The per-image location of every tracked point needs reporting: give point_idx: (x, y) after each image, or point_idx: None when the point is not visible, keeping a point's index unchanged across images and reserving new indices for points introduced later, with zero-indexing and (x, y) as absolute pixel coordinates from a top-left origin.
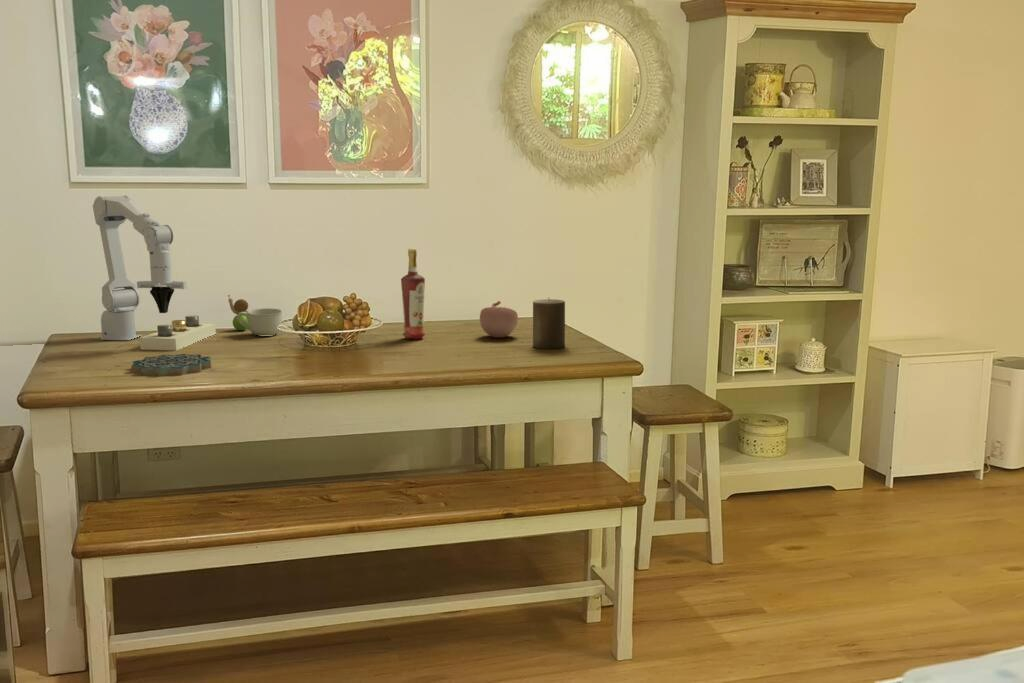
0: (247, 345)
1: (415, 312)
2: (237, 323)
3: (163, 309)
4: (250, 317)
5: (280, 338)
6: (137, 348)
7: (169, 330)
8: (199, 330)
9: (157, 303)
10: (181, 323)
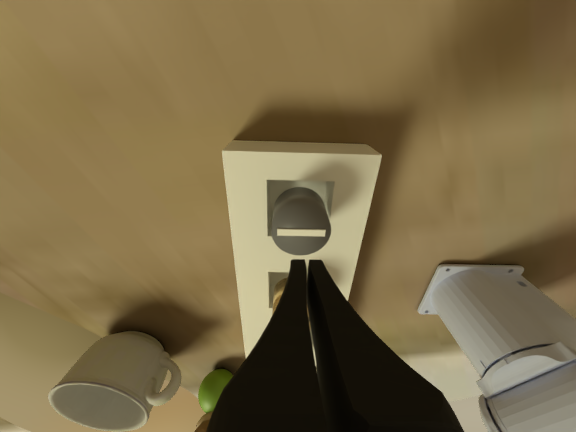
0: (73, 241)
1: None
2: (216, 382)
3: (293, 270)
4: (121, 378)
5: (74, 320)
6: (384, 164)
7: (274, 213)
8: (240, 304)
9: (338, 300)
10: (277, 303)
